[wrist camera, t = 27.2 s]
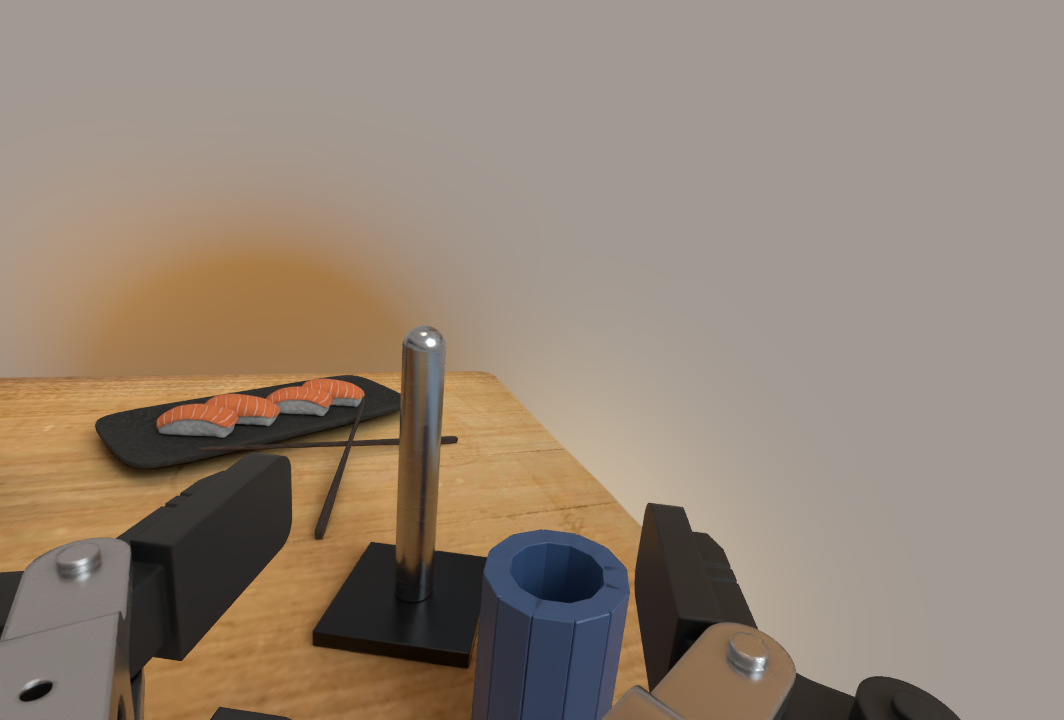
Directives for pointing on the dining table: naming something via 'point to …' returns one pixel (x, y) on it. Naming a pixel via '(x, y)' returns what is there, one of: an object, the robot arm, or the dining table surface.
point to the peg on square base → (412, 544)
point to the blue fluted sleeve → (549, 628)
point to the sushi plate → (250, 424)
